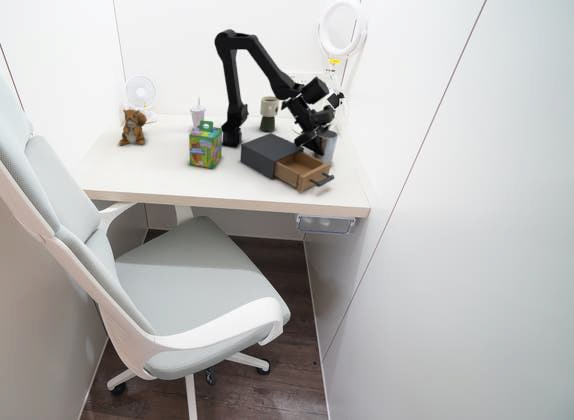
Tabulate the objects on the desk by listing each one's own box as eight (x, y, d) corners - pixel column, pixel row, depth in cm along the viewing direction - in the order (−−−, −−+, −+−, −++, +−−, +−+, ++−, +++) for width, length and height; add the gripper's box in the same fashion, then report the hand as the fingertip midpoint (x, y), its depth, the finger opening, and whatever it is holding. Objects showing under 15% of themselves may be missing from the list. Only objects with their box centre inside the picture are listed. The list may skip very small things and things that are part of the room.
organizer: (301, 165, 112) (304, 147, 107) (271, 179, 105) (274, 161, 101) (268, 150, 122) (270, 132, 118) (240, 161, 115) (241, 144, 111)
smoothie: (205, 133, 135) (204, 100, 126) (190, 133, 136) (188, 100, 127) (206, 127, 140) (206, 95, 131) (192, 127, 141) (190, 94, 132)
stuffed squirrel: (118, 146, 128) (112, 114, 120) (128, 131, 139) (123, 101, 131) (142, 147, 127) (138, 114, 119) (151, 132, 138) (147, 101, 130)
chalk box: (189, 165, 114) (187, 125, 105) (198, 153, 121) (197, 115, 112) (213, 169, 111) (213, 129, 102) (222, 157, 118) (222, 118, 109)
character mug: (276, 135, 132) (280, 103, 124) (258, 134, 133) (261, 103, 125) (275, 124, 140) (279, 94, 132) (258, 124, 141) (261, 94, 133)
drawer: (338, 182, 101) (342, 168, 98) (311, 198, 95) (314, 183, 92) (293, 160, 113) (295, 147, 110) (266, 172, 107) (267, 159, 104)
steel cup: (311, 167, 111) (317, 137, 104) (309, 157, 116) (315, 129, 109) (331, 168, 109) (339, 138, 103) (329, 159, 115) (336, 130, 108)
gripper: (309, 107, 96) (338, 151, 97) (332, 91, 107) (358, 130, 108) (282, 126, 105) (308, 166, 106) (306, 109, 116) (329, 145, 117)
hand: (327, 151), depth 109 cm, fingers closed on steel cup, 7 cm apart
